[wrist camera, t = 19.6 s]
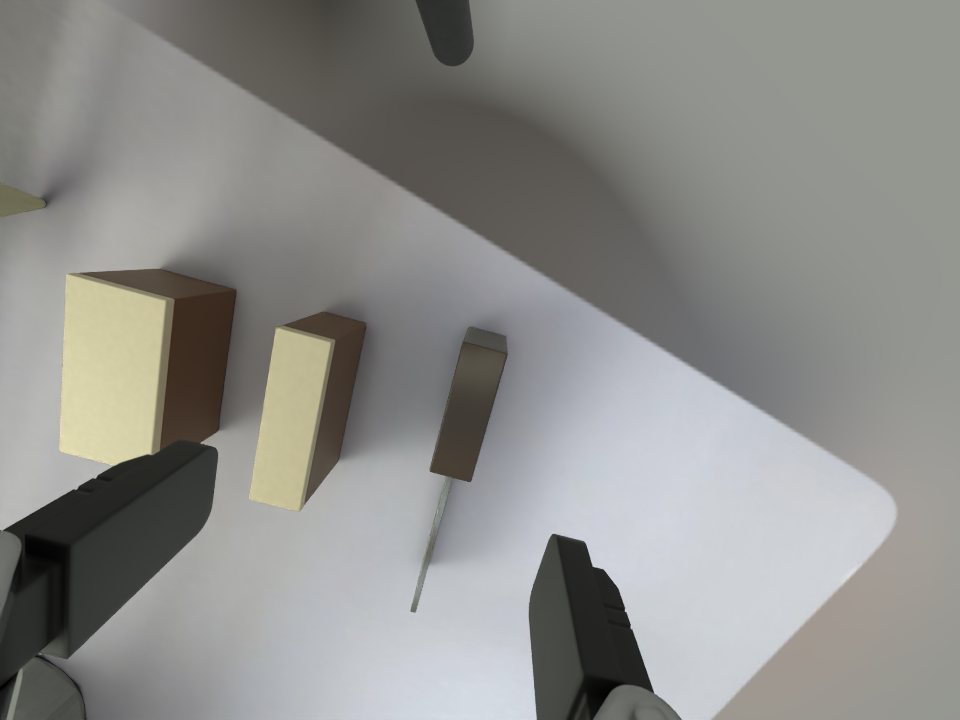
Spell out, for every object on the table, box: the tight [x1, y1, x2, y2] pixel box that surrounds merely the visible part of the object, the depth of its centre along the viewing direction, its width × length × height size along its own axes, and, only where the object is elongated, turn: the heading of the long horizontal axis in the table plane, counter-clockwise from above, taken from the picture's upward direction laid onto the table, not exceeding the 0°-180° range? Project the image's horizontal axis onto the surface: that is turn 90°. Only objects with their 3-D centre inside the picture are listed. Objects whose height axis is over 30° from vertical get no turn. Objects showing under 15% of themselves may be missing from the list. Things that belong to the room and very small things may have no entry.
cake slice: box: [249, 312, 366, 512], centre depth 24 cm, size 9×3×6 cm, turn 165°
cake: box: [59, 269, 236, 466], centre depth 24 cm, size 9×5×6 cm, turn 165°
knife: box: [411, 327, 508, 613], centre depth 25 cm, size 16×2×4 cm, turn 165°
